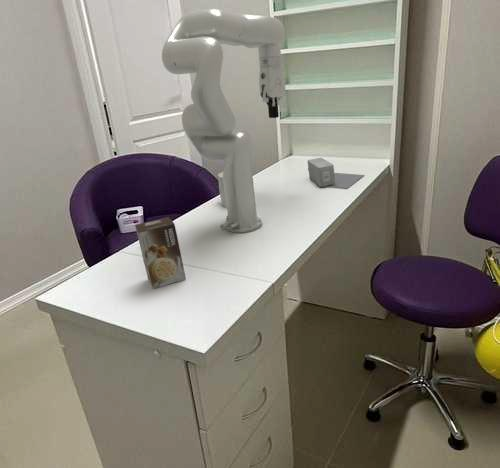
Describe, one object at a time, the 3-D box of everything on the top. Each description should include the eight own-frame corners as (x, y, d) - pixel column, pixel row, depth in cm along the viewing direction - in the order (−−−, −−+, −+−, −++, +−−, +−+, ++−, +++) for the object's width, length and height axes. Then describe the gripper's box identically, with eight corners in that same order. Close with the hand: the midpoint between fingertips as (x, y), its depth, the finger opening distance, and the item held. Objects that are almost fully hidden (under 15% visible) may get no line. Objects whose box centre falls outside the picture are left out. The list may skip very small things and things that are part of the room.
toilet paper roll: (257, 198, 165) (254, 169, 161) (242, 209, 156) (239, 178, 151) (231, 196, 171) (228, 168, 166) (215, 206, 162) (211, 177, 157)
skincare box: (334, 164, 165) (323, 155, 180) (316, 168, 165) (306, 159, 180) (335, 185, 169) (324, 174, 183) (318, 188, 169) (308, 178, 183)
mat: (347, 189, 164) (347, 188, 164) (316, 186, 172) (316, 185, 172) (364, 175, 178) (364, 175, 177) (335, 173, 185) (335, 172, 185)
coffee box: (180, 270, 117) (169, 215, 110) (186, 279, 111) (176, 223, 105) (147, 279, 114) (134, 224, 107) (151, 289, 108) (138, 232, 102)
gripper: (266, 63, 139) (270, 120, 145) (291, 60, 149) (293, 114, 156) (248, 65, 143) (253, 120, 150) (273, 62, 154) (276, 114, 161)
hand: (273, 117), depth 153 cm, fingers closed
